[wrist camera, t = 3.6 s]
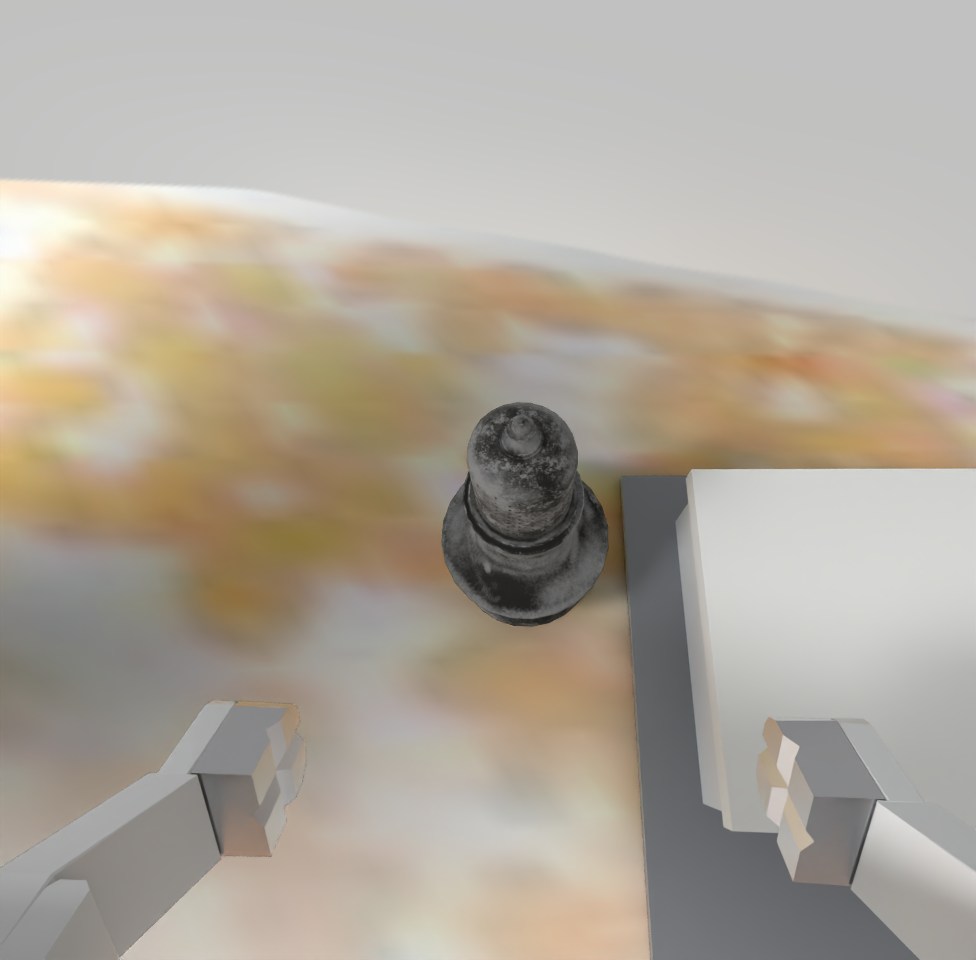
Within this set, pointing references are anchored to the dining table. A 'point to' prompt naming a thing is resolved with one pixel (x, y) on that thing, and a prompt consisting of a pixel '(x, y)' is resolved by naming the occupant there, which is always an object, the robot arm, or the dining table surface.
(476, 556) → the dark grey upright figurine
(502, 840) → the dining table surface
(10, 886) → the robot arm
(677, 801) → the grey mounting plate
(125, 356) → the dining table surface
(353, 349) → the dining table surface
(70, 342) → the dining table surface
